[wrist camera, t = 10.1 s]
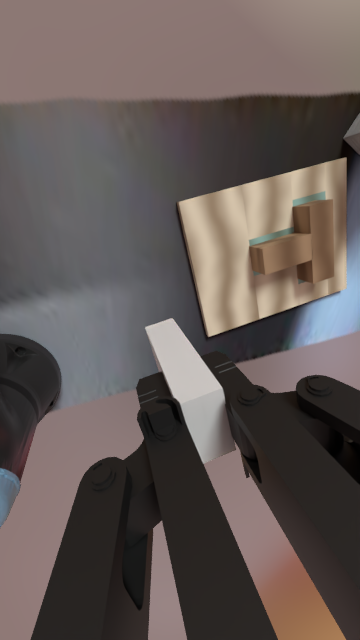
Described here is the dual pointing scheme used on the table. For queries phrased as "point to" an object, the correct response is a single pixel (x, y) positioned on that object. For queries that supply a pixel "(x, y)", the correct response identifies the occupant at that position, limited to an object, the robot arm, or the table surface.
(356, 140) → the skincare box
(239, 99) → the table surface
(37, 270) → the table surface
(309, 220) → the t block
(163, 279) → the table surface
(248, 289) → the board
